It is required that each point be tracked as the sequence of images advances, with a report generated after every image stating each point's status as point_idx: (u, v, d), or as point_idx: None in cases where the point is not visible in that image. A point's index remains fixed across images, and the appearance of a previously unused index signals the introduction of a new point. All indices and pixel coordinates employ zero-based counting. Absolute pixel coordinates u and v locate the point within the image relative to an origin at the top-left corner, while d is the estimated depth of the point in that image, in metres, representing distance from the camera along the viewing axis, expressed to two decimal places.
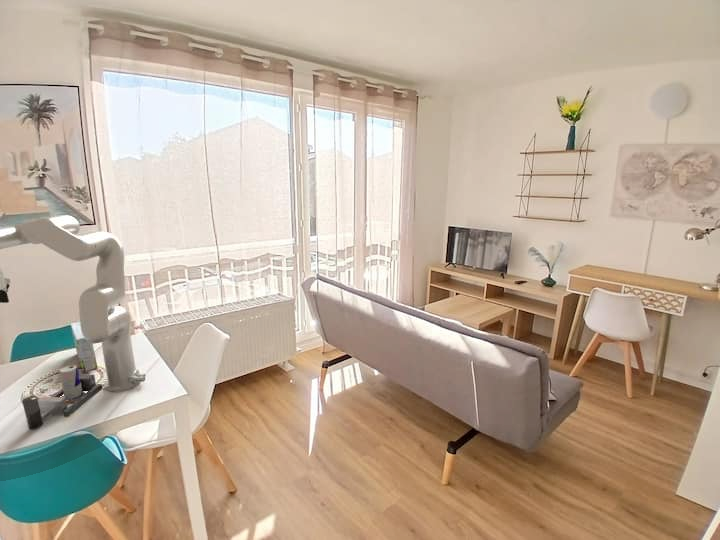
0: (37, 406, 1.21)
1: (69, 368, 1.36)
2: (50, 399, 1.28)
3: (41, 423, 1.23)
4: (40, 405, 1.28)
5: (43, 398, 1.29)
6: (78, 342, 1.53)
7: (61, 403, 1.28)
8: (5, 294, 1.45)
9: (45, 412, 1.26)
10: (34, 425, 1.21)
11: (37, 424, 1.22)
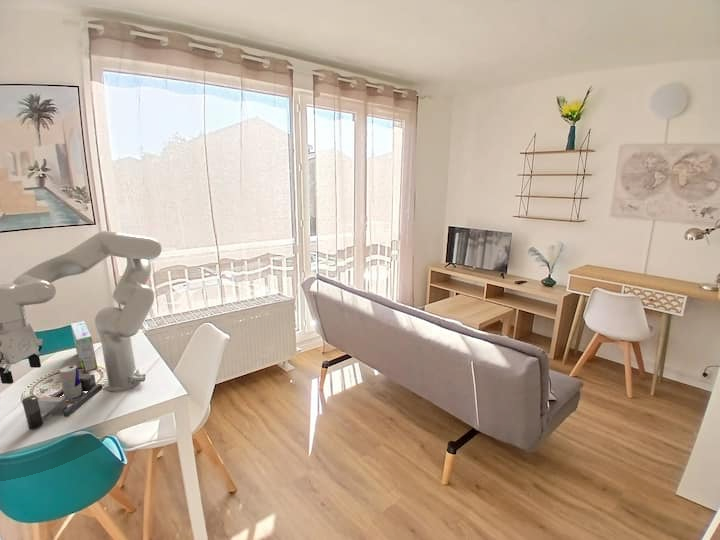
0: (37, 406, 1.21)
1: (69, 368, 1.36)
2: (50, 399, 1.28)
3: (41, 423, 1.23)
4: (40, 405, 1.28)
5: (43, 398, 1.29)
6: (78, 342, 1.53)
7: (61, 403, 1.28)
8: (37, 358, 1.22)
9: (45, 412, 1.26)
10: (34, 425, 1.21)
11: (37, 424, 1.22)
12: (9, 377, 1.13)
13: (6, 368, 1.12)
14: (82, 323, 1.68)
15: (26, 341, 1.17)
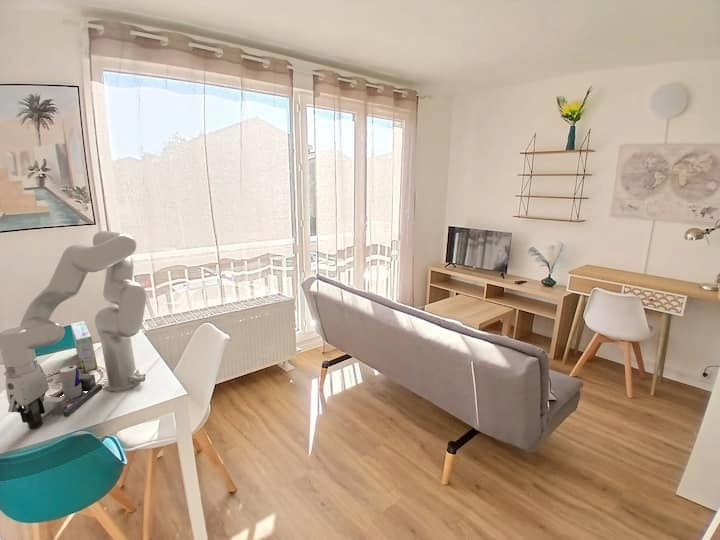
0: (37, 406, 1.21)
1: (69, 368, 1.36)
2: (50, 399, 1.28)
3: (41, 423, 1.23)
4: None
5: None
6: (78, 342, 1.53)
7: (60, 403, 1.28)
8: (41, 405, 1.23)
9: (45, 412, 1.26)
10: (34, 425, 1.21)
11: (37, 424, 1.22)
12: (29, 416, 1.19)
13: (26, 409, 1.18)
14: (82, 323, 1.68)
15: (37, 382, 1.20)
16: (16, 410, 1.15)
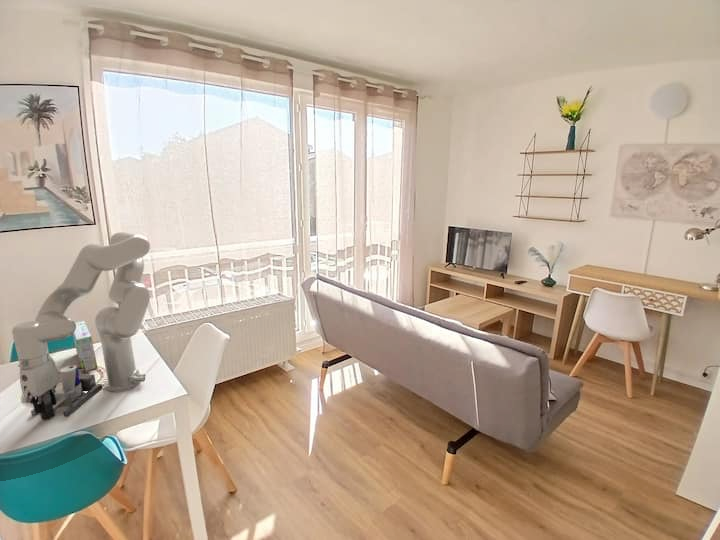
0: (49, 397, 1.26)
1: (69, 368, 1.36)
2: (61, 391, 1.33)
3: (53, 414, 1.27)
4: None
5: None
6: (78, 342, 1.53)
7: (71, 395, 1.32)
8: (53, 396, 1.28)
9: (56, 404, 1.31)
10: (46, 416, 1.26)
11: (49, 415, 1.26)
12: (42, 407, 1.24)
13: (39, 400, 1.22)
14: (82, 323, 1.68)
15: (49, 374, 1.24)
16: (29, 401, 1.20)
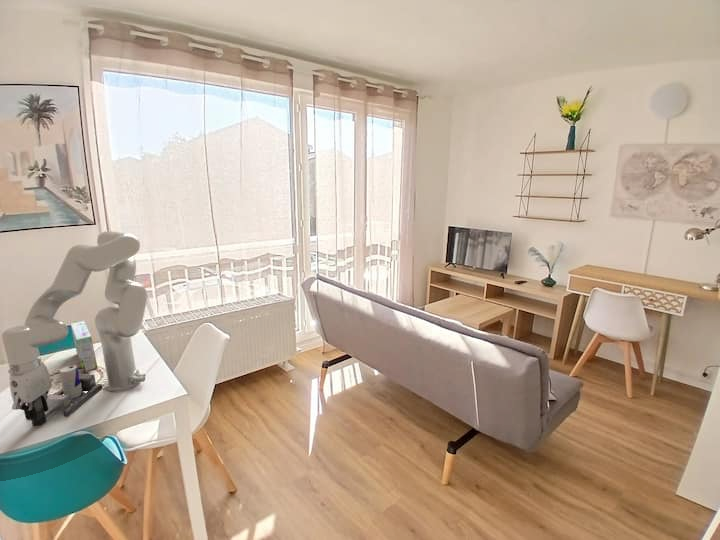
0: (41, 403, 1.23)
1: (69, 368, 1.36)
2: (53, 397, 1.30)
3: (44, 420, 1.24)
4: None
5: None
6: (78, 342, 1.53)
7: (64, 401, 1.29)
8: (44, 402, 1.24)
9: (48, 410, 1.28)
10: (38, 422, 1.22)
11: (41, 421, 1.23)
12: (33, 414, 1.20)
13: (29, 406, 1.19)
14: (82, 323, 1.68)
15: (40, 380, 1.21)
16: (20, 407, 1.17)
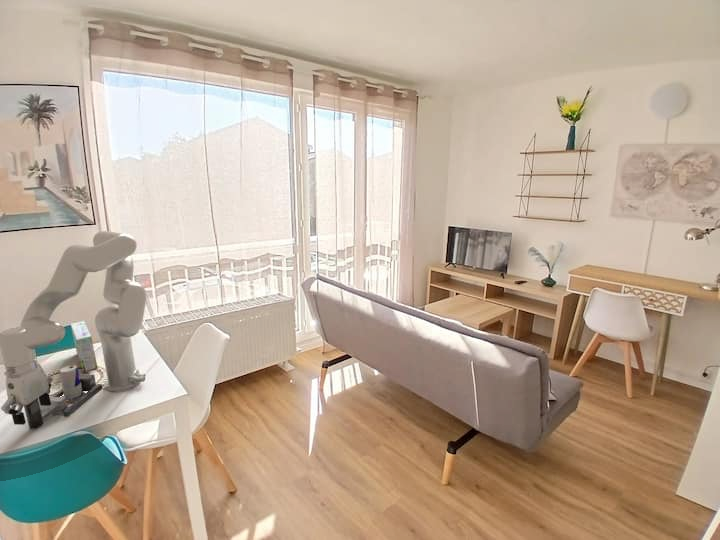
0: (37, 406, 1.21)
1: (69, 368, 1.36)
2: (50, 399, 1.29)
3: (41, 423, 1.23)
4: None
5: None
6: (78, 342, 1.53)
7: (61, 403, 1.28)
8: (47, 396, 1.25)
9: (45, 412, 1.26)
10: (34, 425, 1.21)
11: (37, 424, 1.22)
12: (21, 418, 1.16)
13: (19, 410, 1.15)
14: (82, 323, 1.68)
15: (37, 382, 1.20)
16: (8, 410, 1.13)
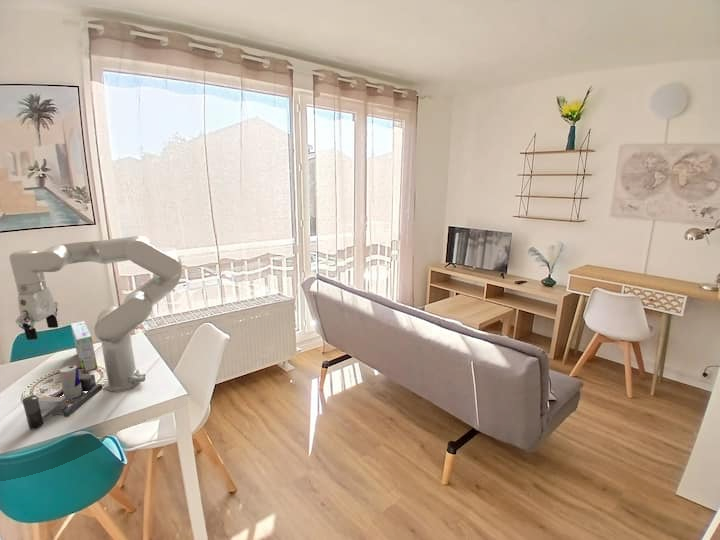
0: (37, 406, 1.21)
1: (69, 368, 1.36)
2: (50, 399, 1.29)
3: (41, 423, 1.23)
4: (40, 404, 1.28)
5: (43, 398, 1.29)
6: (78, 342, 1.53)
7: (61, 403, 1.28)
8: (54, 319, 1.36)
9: (45, 412, 1.26)
10: (34, 425, 1.21)
11: (37, 424, 1.22)
12: (34, 333, 1.27)
13: (31, 325, 1.26)
14: (82, 323, 1.68)
15: (46, 302, 1.31)
16: (22, 323, 1.23)
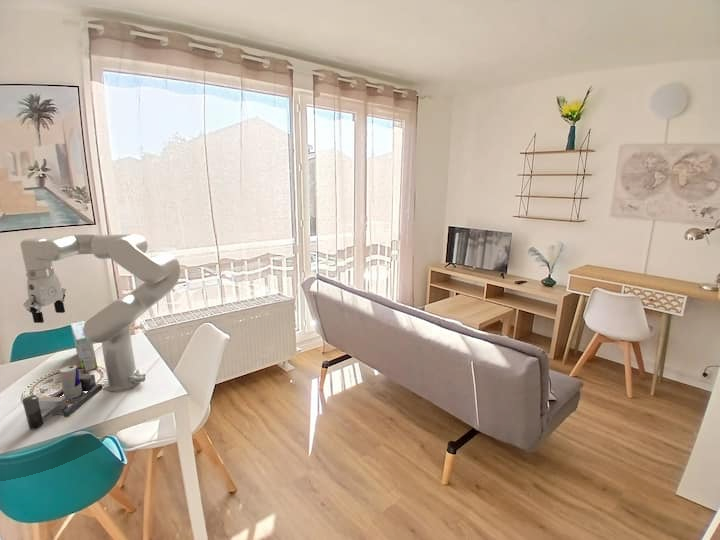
0: (37, 406, 1.21)
1: (69, 368, 1.36)
2: (50, 399, 1.29)
3: (41, 423, 1.23)
4: (40, 404, 1.28)
5: (43, 398, 1.29)
6: (78, 342, 1.53)
7: (61, 403, 1.28)
8: (61, 304, 1.43)
9: (45, 412, 1.26)
10: (34, 425, 1.21)
11: (37, 424, 1.22)
12: (40, 317, 1.34)
13: (38, 309, 1.33)
14: (82, 323, 1.68)
15: (53, 288, 1.38)
16: (29, 307, 1.30)
